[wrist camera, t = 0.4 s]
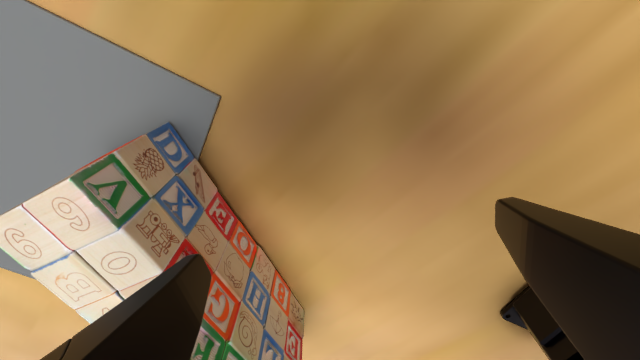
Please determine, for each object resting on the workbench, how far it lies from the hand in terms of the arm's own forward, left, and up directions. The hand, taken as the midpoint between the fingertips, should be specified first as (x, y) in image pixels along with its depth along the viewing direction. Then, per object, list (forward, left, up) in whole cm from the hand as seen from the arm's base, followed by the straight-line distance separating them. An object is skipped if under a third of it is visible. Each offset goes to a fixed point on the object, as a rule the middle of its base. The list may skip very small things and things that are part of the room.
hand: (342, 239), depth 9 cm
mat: (+15, +14, -14) cm, 24 cm away
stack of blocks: (+4, +14, -14) cm, 20 cm away
